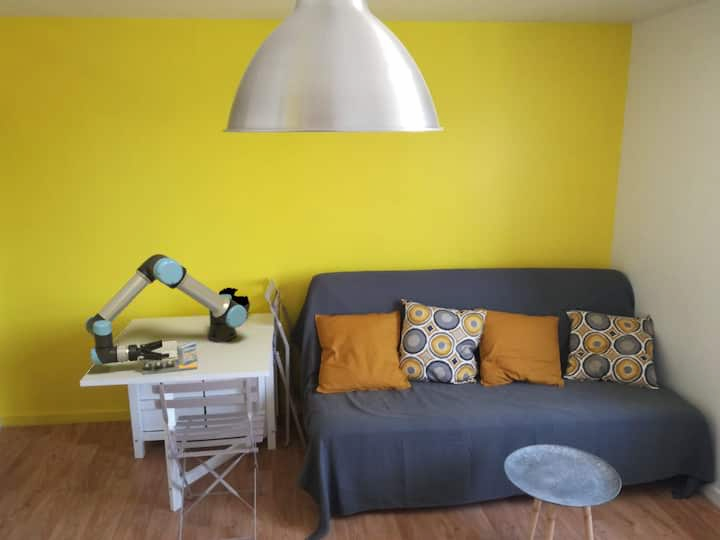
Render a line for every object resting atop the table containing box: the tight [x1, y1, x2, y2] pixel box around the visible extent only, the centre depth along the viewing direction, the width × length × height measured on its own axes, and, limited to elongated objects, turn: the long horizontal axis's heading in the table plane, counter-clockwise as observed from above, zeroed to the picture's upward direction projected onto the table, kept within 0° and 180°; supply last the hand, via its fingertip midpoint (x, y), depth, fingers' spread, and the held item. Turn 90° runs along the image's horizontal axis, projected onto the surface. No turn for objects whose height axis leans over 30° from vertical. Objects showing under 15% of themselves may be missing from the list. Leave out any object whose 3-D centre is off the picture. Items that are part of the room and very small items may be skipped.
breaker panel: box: [141, 358, 198, 376], centre depth 285 cm, size 24×13×3 cm, turn 106°
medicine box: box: [176, 341, 198, 366], centre depth 286 cm, size 8×4×9 cm, turn 145°
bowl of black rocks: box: [218, 286, 251, 313], centre depth 350 cm, size 20×20×19 cm
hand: (177, 348), depth 284 cm, fingers open, 13 cm apart
